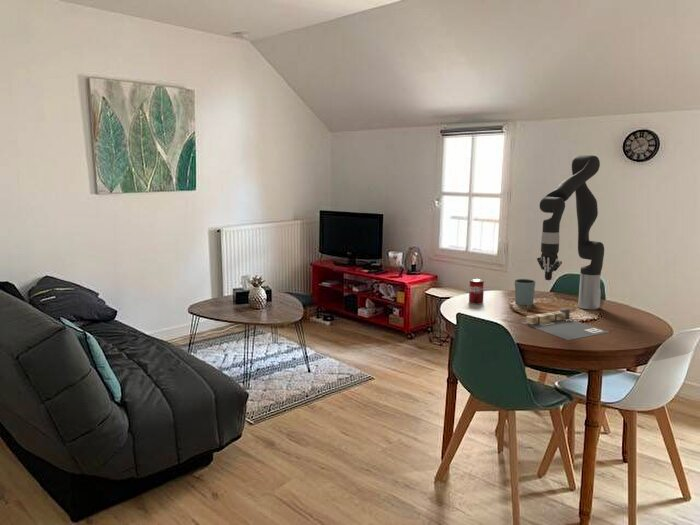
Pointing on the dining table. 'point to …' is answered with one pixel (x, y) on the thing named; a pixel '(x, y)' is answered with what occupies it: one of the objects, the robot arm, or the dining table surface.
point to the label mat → (567, 329)
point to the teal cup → (524, 291)
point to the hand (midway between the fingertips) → (548, 279)
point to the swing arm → (548, 316)
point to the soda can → (476, 291)
